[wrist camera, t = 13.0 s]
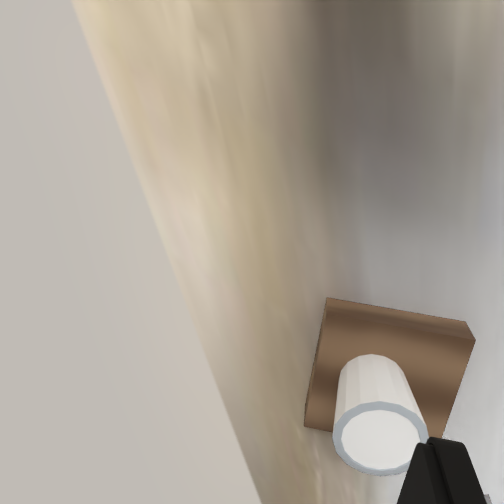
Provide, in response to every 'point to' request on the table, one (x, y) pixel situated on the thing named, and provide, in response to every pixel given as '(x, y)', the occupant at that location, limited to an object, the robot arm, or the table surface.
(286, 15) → the table surface
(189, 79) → the table surface
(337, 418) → the white cup
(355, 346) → the walnut plinth
